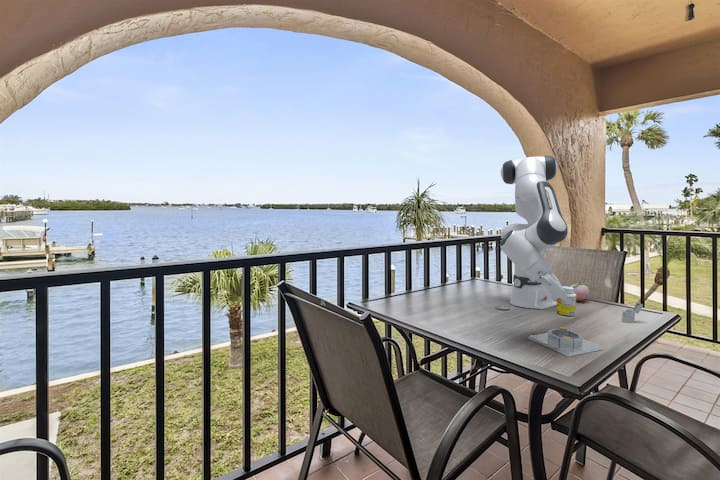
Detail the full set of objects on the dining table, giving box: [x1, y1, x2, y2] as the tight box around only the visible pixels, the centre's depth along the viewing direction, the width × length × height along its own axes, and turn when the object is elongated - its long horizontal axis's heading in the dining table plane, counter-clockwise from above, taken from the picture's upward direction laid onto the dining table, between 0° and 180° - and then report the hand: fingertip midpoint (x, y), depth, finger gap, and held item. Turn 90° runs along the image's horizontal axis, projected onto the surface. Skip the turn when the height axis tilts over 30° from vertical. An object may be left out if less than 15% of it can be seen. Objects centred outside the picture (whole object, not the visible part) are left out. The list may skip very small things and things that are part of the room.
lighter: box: [621, 302, 644, 324], centre depth 144 cm, size 7×2×8 cm, turn 91°
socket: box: [527, 326, 604, 358], centre depth 121 cm, size 16×16×4 cm
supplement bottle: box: [556, 285, 577, 319], centre depth 120 cm, size 6×6×10 cm
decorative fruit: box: [569, 281, 590, 302], centre depth 175 cm, size 9×8×10 cm
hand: (568, 300), depth 120 cm, fingers closed on supplement bottle, 6 cm apart
